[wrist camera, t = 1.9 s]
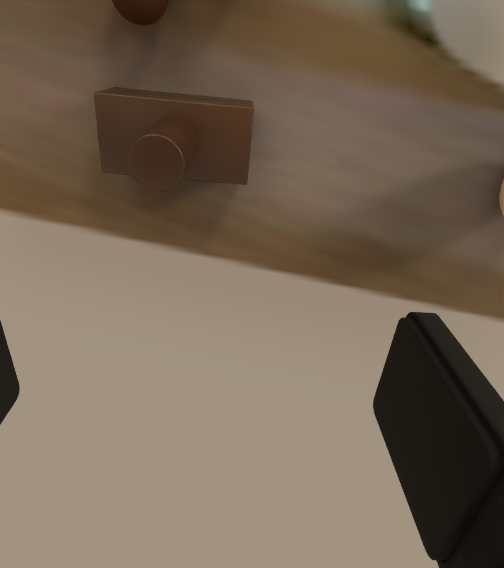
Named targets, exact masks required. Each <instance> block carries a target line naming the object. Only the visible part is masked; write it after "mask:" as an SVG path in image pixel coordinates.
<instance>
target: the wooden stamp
mask: <svg viewBox="0 0 504 568" xmlns="http://www.w3.org/2000/svg"><path fill="white" fill-rule="evenodd" d="M94 98H95V108H96V118H97V128H98V138H99V148H100V158H101V167H102V172H103V173H114V174H126V175H132V176H133V177H134V179H135V180H136V181H137V182H138V183H139V184H140V185H142V186H143V187H145V188H147V189H149V190H152V191H157V192H162V191H168V190H170V189H172V188H174V187H175V186H177V185H178V184H179V183H180V181H181V180H182V179H184V180H196V181H208V182H219V183H231V184H243V185H246V184H247V181H248V169H249V157H250V146H251V134H252V122H253V110H254V109H253V102H252V101H249V100H238V99H228V98H218V97H208V96H198V95H187V94H177V93H167V92H157V91H147V90H136V89H126V88H116V87H114V88H110V89H106V90H102V91H98V92H94Z"/></svg>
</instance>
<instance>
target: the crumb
mask: <svg viewBox="0 0 504 568" xmlns="http://www.w3.org/2000/svg"><path fill="white" fill-rule="evenodd" d="M112 1H113V3H114V5H115V7H116V9H117V10H118V11H119V13H120V14H121V15H122V16H123V17H125V18H126V19H127V20H129V21H131V22H133V23H135V24H139V25H148V24H152V23H154V22H156V21H157V20H158V19H159V18H160V17H161V16H162V15H163V13H164V12H165V9H166V7H167V3H168V0H112Z"/></svg>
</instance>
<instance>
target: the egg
mask: <svg viewBox="0 0 504 568" xmlns="http://www.w3.org/2000/svg"><path fill="white" fill-rule="evenodd" d="M499 201H500V208H501V211H502V214H503V216H504V179H503V182H502V184H501V189H500V194H499Z"/></svg>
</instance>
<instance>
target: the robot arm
mask: <svg viewBox="0 0 504 568" xmlns="http://www.w3.org/2000/svg"><path fill="white" fill-rule="evenodd" d="M18 395H19V382H18V379H17V375H16V372H15V368H14V365H13V362H12V358H11V355H10V352H9V348H8V345H7V341H6V338H5V335H4V332H3V328H2V324H1V321H0V424H1V423H2V421H3V420H4V418H5V416H6V415H7V413H8V412H9V411H10V409H11V408H12V406H13V405H14V403H15V402H16V400H17V397H18ZM373 408H374V413H375V416H376V419H377V421H378V424H379V427H380V430H381V432H382V435H383V438H384V441H385V443H386V446H387V449H388V451H389V454H390V456H391V459H392V462H393V465H394V467H395V470H396V473H397V475H398V478H399V481H400V483H401V486H402V489H403V491H404V494H405V496H406V499H407V502H408V505H409V507H410V510H411V513H412V515H413V518H414V521H415V523H416V526H417V529H418V531H419V534H420V537H421V540H422V542H423V545H424V547H425V550H426V552H427V554H428V556H429V557H430V558H431V559H432V560H436V561H437V563H438V566H439V568H504V401H503V399H502V398H501V397H500V396H499V394H498V393H497V392H496V390H495V389H494V388H493V386H492V385H491V384H490V383H489V381H488V380H487V379H486V377H485V376H484V375H483V373H482V372H481V371H480V370H479V368H478V367H477V366H476V364H475V363H474V362H473V360H472V359H471V358H470V357H469V355H468V354H467V353H466V351H465V350H464V349H463V347H462V346H461V345H460V343H459V342H458V341H457V340H456V338H455V337H454V335H453V334H452V333H451V332H450V330H449V329H448V328H447V326H446V325H445V324H444V322H443V321H442V320H441V319H440V317H439V316H438V315H437V314H435V313H421V312H410V313H408V315H407V316H406V318H401V319H400V320H399V322H398V325H397V328H396V331H395V334H394V337H393V340H392V343H391V347H390V350H389V353H388V356H387V359H386V362H385V365H384V368H383V372H382V375H381V378H380V381H379V384H378V387H377V390H376V394H375V397H374V401H373Z"/></svg>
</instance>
